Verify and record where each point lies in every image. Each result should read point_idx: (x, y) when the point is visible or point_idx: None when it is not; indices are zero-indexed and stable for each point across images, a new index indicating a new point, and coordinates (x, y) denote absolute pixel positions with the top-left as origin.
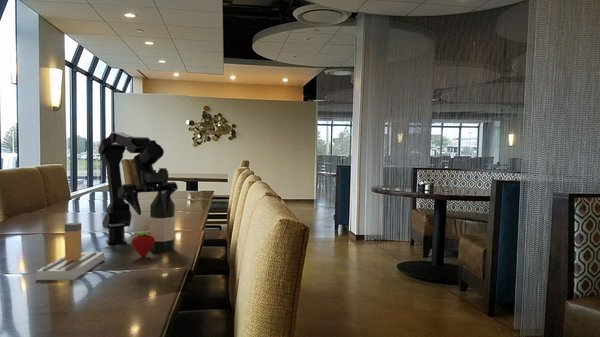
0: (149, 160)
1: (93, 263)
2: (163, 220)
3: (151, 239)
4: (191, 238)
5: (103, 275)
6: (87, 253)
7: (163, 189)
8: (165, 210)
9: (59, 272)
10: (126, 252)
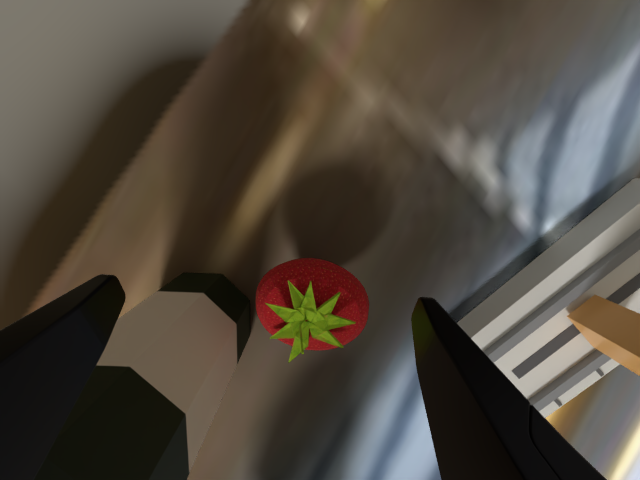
0: None
1: (516, 285)
2: (143, 358)
3: (287, 268)
4: None
5: (544, 153)
6: None
7: None
8: (110, 305)
9: None
10: (324, 380)
